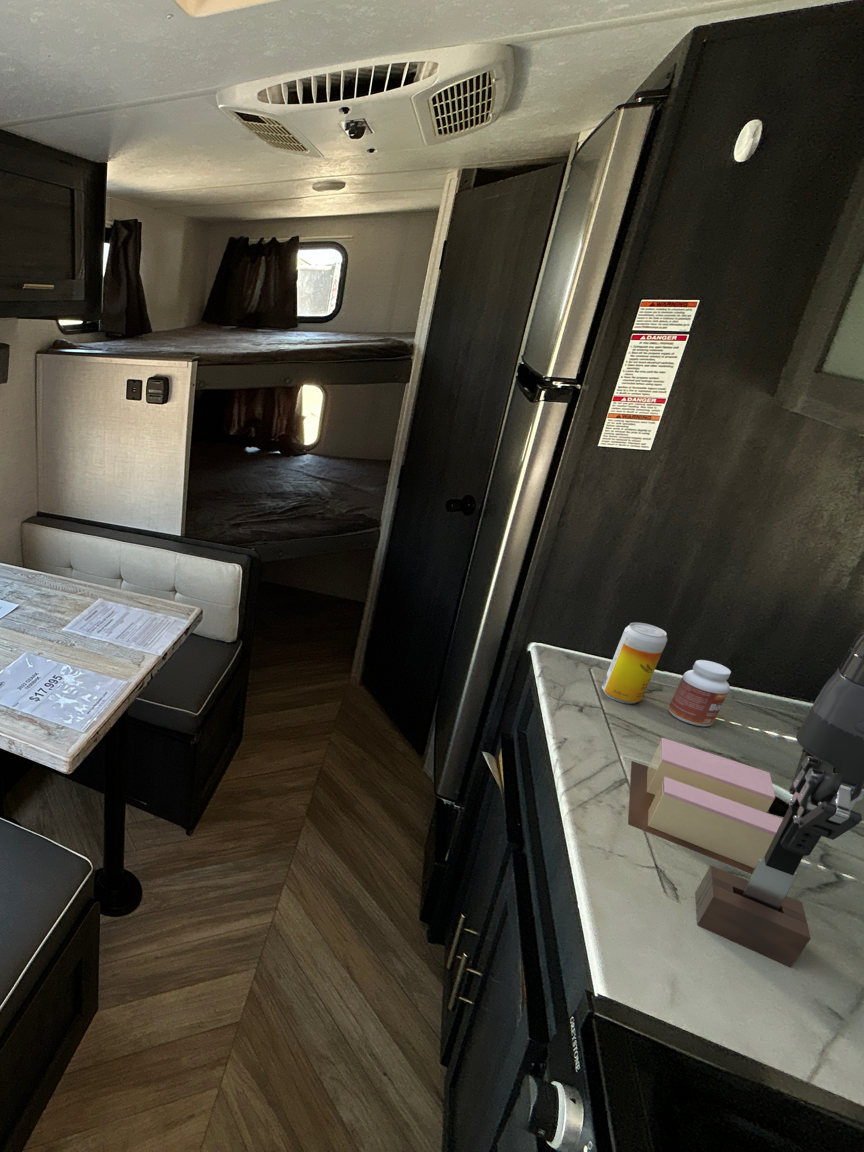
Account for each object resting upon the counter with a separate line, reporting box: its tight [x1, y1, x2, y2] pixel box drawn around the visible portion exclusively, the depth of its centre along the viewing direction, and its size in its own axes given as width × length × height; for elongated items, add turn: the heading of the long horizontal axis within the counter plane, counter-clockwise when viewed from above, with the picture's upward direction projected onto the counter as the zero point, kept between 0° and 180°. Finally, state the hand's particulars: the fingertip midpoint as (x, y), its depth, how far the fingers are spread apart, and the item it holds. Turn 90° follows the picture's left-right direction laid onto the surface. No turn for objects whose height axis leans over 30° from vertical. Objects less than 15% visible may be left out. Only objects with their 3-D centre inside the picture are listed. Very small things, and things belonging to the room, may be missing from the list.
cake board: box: [627, 760, 770, 875], centre depth 94 cm, size 16×18×1 cm
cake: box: [647, 737, 776, 813], centre depth 95 cm, size 12×7×7 cm, turn 49°
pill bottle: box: [668, 659, 732, 727], centre depth 115 cm, size 6×6×11 cm
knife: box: [741, 805, 811, 911], centre depth 73 cm, size 3×2×17 cm, turn 49°
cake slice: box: [648, 777, 783, 868], centre depth 88 cm, size 12×4×7 cm, turn 48°
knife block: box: [694, 865, 812, 969], centre depth 76 cm, size 8×6×6 cm
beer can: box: [601, 622, 668, 705], centre depth 120 cm, size 6×6×15 cm
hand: (791, 843), depth 72 cm, fingers closed on knife, 1 cm apart
